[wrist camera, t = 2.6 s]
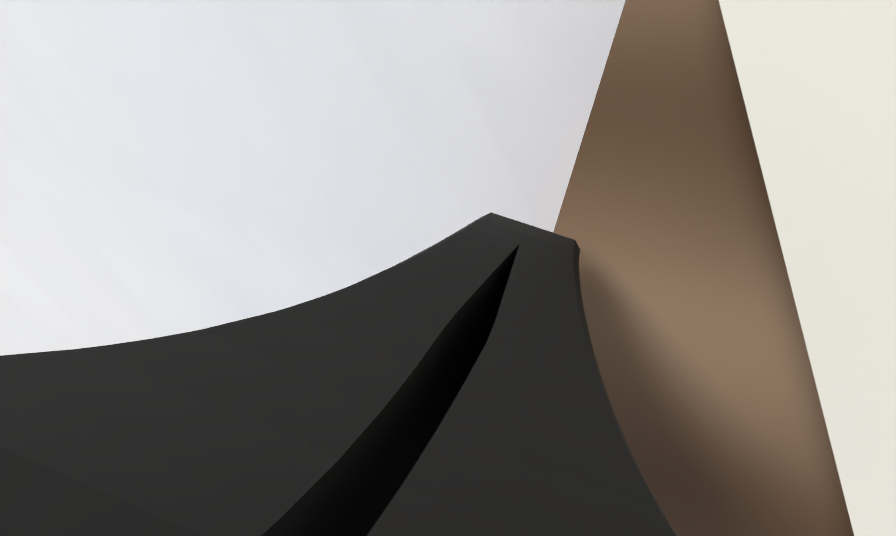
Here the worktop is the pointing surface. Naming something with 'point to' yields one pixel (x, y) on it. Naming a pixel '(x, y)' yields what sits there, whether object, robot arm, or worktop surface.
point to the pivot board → (696, 288)
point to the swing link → (834, 212)
